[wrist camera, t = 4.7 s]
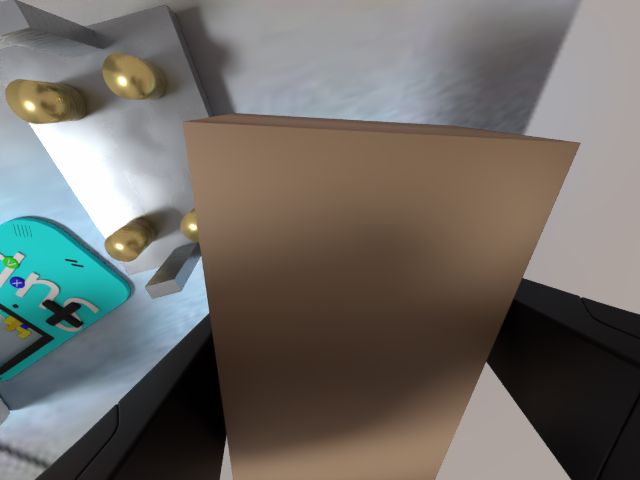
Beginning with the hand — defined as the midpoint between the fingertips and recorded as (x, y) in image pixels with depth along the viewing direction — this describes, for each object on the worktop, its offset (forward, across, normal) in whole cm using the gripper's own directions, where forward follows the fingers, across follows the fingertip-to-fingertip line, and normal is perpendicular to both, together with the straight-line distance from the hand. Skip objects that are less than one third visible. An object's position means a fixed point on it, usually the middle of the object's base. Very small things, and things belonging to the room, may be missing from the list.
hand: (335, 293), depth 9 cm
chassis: (+12, +9, -4) cm, 15 cm away
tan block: (+1, 0, 0) cm, 1 cm away
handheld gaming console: (+12, +23, +4) cm, 26 cm away
